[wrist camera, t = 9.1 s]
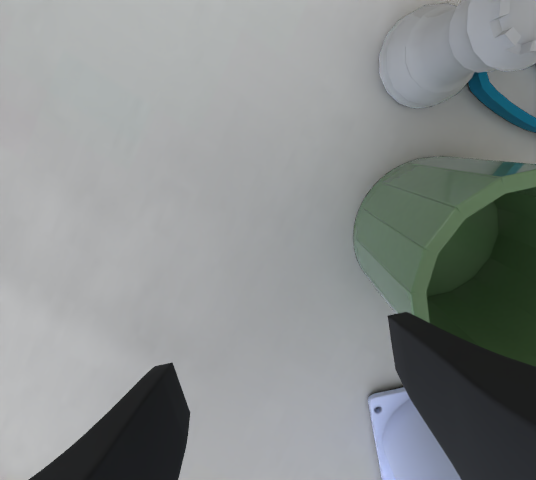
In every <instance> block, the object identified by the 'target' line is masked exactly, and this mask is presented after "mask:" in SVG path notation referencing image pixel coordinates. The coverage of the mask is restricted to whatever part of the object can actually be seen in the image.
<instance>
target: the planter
mask: <svg viewBox="0 0 536 480" xmlns="http://www.w3.org/2000/svg"><path fill="white" fill-rule="evenodd" d="M353 241H354V250H355V254H356V258H357V260H358V263H359V265H360V267H361V269H362V270H363V272H364V274H365V275H366V276H367V277H368V279H369V280H370V282H371V283H372V285H373V286H374V287H375V289H376V290H377V291H378V293H379V294H380V295H381V296H382V298H383V299H384V300H385V301H386V303H387V304H388V305H389V306H390V308H391V309H392V310H393V311H394V313H395V314H398V313H403V312H408V313H410V314H413V315H415V316H417V317H419V318H421V319H423V320H425V321H427V322H429V323H431V324H433V325H435V326H437V327H439V328H441V329H443V330H445V331H447V332H449V333H451V334H453V335H455V336H457V337H459V338H462V339H464V340H466V341H468V342H471V343H473V344H475V345H478V346H480V347H483V348H485V349H487V350H490V351H492V352H495V353H497V354H500V355H503V356H506V357H508V358H511V359H514V360H517V361H520V362H523V363H526V364H529V365H532V366H536V164H527V163H516V162H504V161H493V160H481V159H469V158H458V157H446V156H439V157H427V158H421V159H417V160H413V161H410V162H407V163H405V164H403V165H400V166H398V167H397V168H395V169H393V170H392V171H390V172H389V173H387V174H386V175H385V176H384V177H382V178H381V179H380V180H379V181H378V182H377V183H376V184H375V185H374V186H373V187H372V189H371V190H370V191H369V193H368V194H367V196H366V197H365V199H364V200H363V202H362V204H361V206H360V209H359V211H358V214H357V217H356V220H355V225H354V235H353Z"/></svg>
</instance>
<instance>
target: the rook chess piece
mask: <svg viewBox="0 0 536 480" xmlns="http://www.w3.org/2000/svg"><path fill="white" fill-rule="evenodd" d="M535 63H536V0H462V1H461V2H460V3H459V5H458V6H455V5H451V4H449V3H440V4H431V5H424V6H422V7H420V8H419V9H417V10H415V11H413V12H412V13H410V14H408V15H407V16H405V17H403V18H402V19H400V20H398V22H397V23H396V24H395V25H394V27H393V28H392V29H391V30H390V31H389V33H388V34H387V35H386V37H385V40H384V43H383V46H382V48H381V51H380V54H379V75H380V77H381V80H382V82H383V85H384V87H385V90H386V92H387V93H388V94H390V95H391V96H392V97H393V98H394V99H395V100H396V101H397V102H398V103H400V104H402V105H405V106H408V107H411V108H424V107H432V106H434V105H435V104H440V103H442V102H443V101H445V100H447V99H449V98H451V97H453V96H455V95H456V94H457V93H459V92H460V90H461V89H462V88H463V87H464V86H465V85H466V84H467V83H468V82H469V80H470V79H471V78H472V76H473V74H474V72H478V73H479V72H489V71H494V70H496V69H498V70H501V71H504V72H506V71H516V70H524V69H526V68H528V67H530V66H532V65H534V64H535Z"/></svg>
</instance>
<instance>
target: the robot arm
mask: <svg viewBox="0 0 536 480" xmlns="http://www.w3.org/2000/svg"><path fill="white" fill-rule="evenodd" d="M388 321H389V328H390V335H391V342H392V348H393V355H394V362H395V369H396V371H397V373H398V375H399V377H400V380H401V382H402V384H403V386H404V387H403V388H398V389H394V390H389V391H384V392H379V393H375V394H372V395H371V396H369V398H368V405H369V410H370V416H371V422H372V427H373V433H374V439H375V444H376V450H377V455H378V461H379V467H380V472H381V478H382V480H536V366H532V365H529V364H526V363H523V362H520V361H517V360H514V359H511V358H508V357H506V356H503V355H500V354H497V353H495V352H492V351H490V350H487V349H485V348H483V347H480V346H478V345H475V344H473V343H471V342H468V341H466V340H464V339H462V338H459V337H457V336H455V335H453V334H451V333H449V332H447V331H445V330H443V329H441V328H439V327H437V326H435V325H433V324H431V323H429V322H427V321H425V320H423V319H421V318H419V317H417V316H415V315H413V314H410V313H408V312H403V313H398V314H394V315H389V316H388ZM376 407H379V408H377V409H375V408H376ZM189 418H190V411H189V408H188V406H187V403H186V400H185V397H184V394H183V391H182V388H181V386H180V383H179V380H178V377H177V374H176V371H175V369H174V366H173V363H168V364H164V365H159V366H155V367H154V368H152V369H151V370H150V371H149V372H148V373H147V374H146V375H145V376H144V377H143V378H142V379H141V380H140V381H139V382H138V383H137V384H136V385H135V386H134V387H133V388H132V389H131V390H130V391H129V392H128V393H127V394H126V395H125V396H124V397H123V398H122V399H121V400H120V401H119V402H118V403H117V404H116V405H115V406H114V407H113V408H112V409H111V410H110V411H109V412H108V413H107V414H106V415H105V416H104V417H103V418H102V419H100V420H99V421H98V422H97V423H96V424H95V425H94V426H93V427H92V428H91V429H90V430H89V431H88V432H87V433H86V434H85V435H83V436H82V437H81V438H80V439H79V440H78V441H77V442H76V443H74V444H73V445H72V446H71V447H70V448H69V449H67V450H66V451H65V452H64V453H63V454H61V455H60V456H59V457H58V458H56V459H55V460H54V461H53V462H51V463H50V464H49V465H48V466H46V467H45V468H44V469H43V470H41V471H40V472H39V473H37V474H36V475H34V476H33V477H32V478H30V479H29V480H178V478H179V474H180V470H181V465H182V461H183V457H184V453H185V448H186V444H187V436H188V428H189Z"/></svg>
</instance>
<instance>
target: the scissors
mask: <svg viewBox="0 0 536 480" xmlns="http://www.w3.org/2000/svg"><path fill="white" fill-rule="evenodd" d="M468 84H469V87H470V90H471V92H472V93H473V94H474V95H475V96H476V97H477V98H478V99H479V100H480V101H481V102H482V103H483V104H485V105H486V106H487V107H488V108H490V109H491V110H492V111H493V112H495V113H496V114H498V115H499V116H501V117H503V118H504V119H506V120H507V121H509V122H511V123H512V124H514V125H516V126H518V127H520V128H523V129H525V130H528V131H532V132H535V133H536V118H535V117H533V116H531V115H529V114H528V113H526V112H525V111H523V110H522V109H520V108H519V107H517V106H516V105H514V104H513V103H511V102H510V101H509V100H508V99H507V98H505V97H504V96H503V95H502V94H500V93H499V92H498V91H497V90H496V89H495V88H494V87H493V85H492V84H491V83H490V82H489V78H488V75H487V72H479V73H478V72H474V74H473V76H472V78H471V79H470V80H469V82H468Z"/></svg>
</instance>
